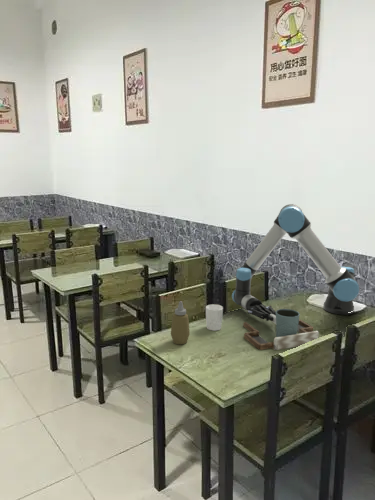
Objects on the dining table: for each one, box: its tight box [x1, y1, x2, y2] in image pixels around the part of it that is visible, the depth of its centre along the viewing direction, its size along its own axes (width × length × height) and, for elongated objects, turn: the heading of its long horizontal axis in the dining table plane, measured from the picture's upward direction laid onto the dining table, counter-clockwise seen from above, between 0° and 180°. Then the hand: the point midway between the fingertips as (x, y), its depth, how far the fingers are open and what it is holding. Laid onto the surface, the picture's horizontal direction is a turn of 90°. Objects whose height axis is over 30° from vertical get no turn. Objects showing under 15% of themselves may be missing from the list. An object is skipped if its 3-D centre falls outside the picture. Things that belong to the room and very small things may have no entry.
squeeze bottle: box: [170, 300, 191, 345], centre depth 175 cm, size 8×8×18 cm
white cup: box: [205, 303, 224, 331], centre depth 192 cm, size 8×8×10 cm
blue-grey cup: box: [275, 308, 301, 337], centre depth 181 cm, size 10×10×12 cm
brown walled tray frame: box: [242, 318, 320, 351], centre depth 186 cm, size 33×26×5 cm
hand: (278, 321), depth 185 cm, fingers closed
